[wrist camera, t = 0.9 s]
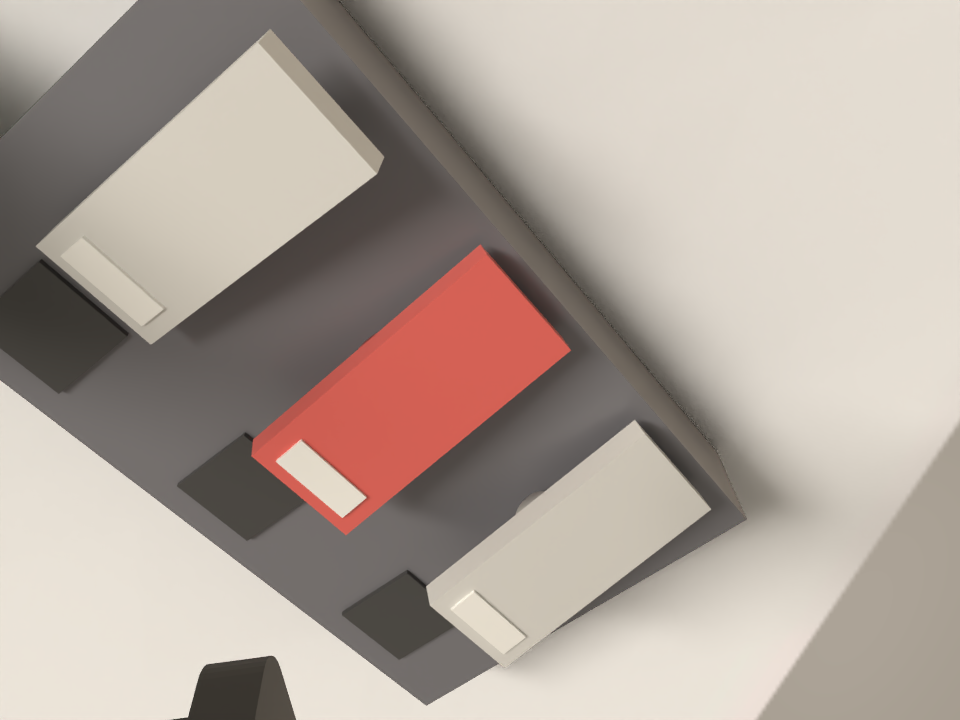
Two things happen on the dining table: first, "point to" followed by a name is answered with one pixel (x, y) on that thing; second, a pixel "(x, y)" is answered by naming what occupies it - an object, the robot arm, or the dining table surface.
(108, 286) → the grey rocker near bottle
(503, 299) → the block
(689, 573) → the dining table surface
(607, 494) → the grey rocker far end
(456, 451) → the power strip
